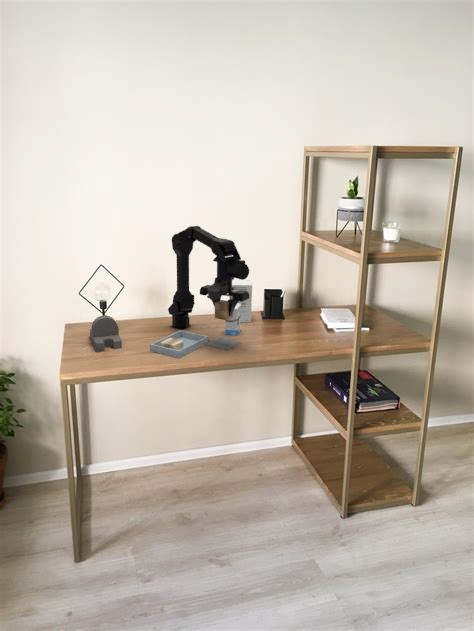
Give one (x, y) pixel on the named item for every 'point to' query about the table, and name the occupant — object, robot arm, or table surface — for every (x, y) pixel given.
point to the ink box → (234, 322)
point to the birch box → (172, 344)
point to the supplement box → (246, 304)
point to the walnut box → (222, 310)
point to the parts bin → (189, 344)
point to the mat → (223, 343)
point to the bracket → (105, 333)
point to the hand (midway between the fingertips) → (223, 314)
